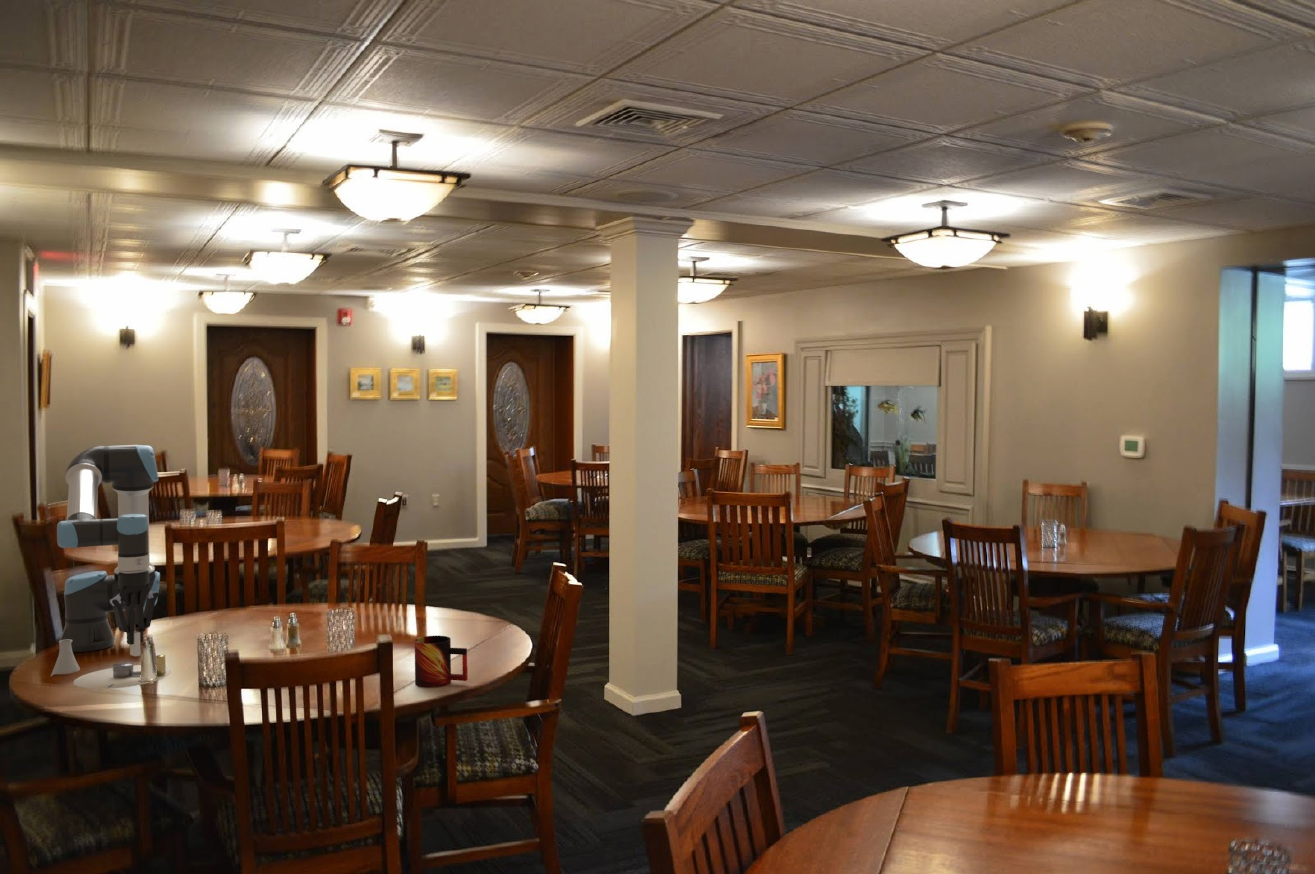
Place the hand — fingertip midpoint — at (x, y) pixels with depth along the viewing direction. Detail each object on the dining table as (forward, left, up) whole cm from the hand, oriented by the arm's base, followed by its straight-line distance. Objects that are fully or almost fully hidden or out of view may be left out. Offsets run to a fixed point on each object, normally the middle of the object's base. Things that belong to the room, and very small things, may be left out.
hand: (135, 654), depth 277 cm
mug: (+16, +83, -8) cm, 85 cm away
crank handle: (-1, +1, -6) cm, 6 cm away
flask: (-11, -22, -8) cm, 25 cm away
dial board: (-2, -4, -7) cm, 9 cm away
